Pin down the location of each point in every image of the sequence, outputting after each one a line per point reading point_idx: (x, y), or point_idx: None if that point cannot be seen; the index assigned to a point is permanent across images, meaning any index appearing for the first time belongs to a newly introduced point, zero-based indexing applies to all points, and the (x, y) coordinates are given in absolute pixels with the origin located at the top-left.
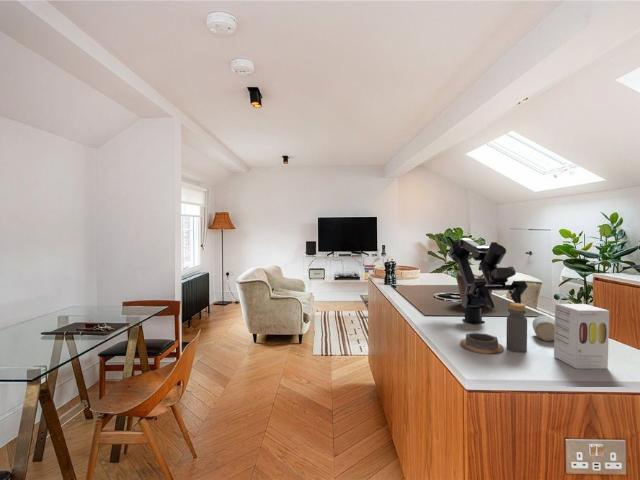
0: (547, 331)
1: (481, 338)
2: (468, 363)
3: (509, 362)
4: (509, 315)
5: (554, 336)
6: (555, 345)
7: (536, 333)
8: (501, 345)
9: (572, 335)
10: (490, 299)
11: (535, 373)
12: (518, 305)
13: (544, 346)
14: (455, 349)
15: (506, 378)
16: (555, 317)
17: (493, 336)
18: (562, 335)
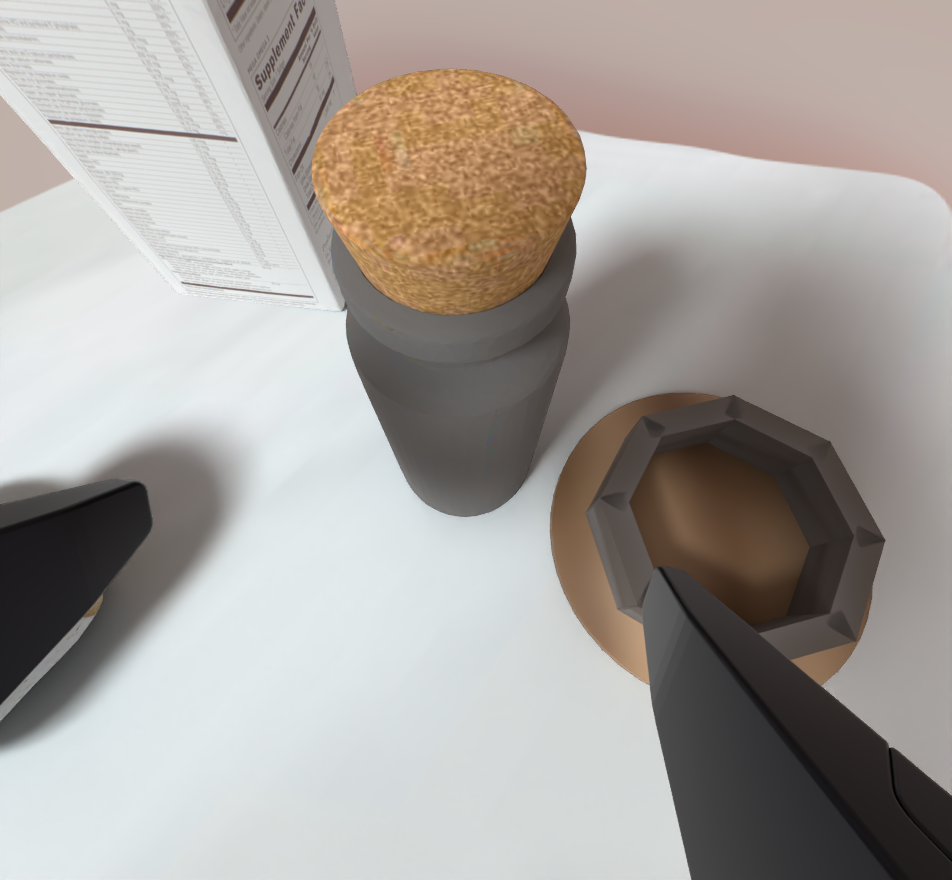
0: None
1: None
2: (894, 307)
3: (654, 288)
4: (535, 336)
5: (300, 211)
6: (324, 249)
7: (93, 607)
8: (561, 487)
9: (329, 21)
10: (786, 696)
11: (607, 180)
12: (497, 85)
13: (220, 472)
14: (922, 518)
15: (768, 162)
16: (228, 31)
17: (617, 521)
18: (316, 114)
